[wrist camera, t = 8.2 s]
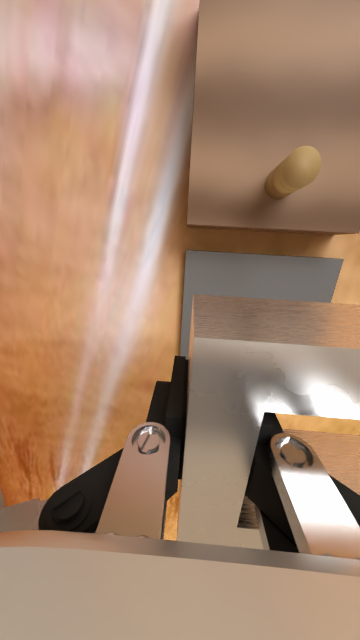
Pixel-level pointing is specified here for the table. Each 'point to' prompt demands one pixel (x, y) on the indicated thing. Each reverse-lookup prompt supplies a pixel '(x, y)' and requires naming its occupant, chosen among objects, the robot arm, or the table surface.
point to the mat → (255, 280)
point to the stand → (276, 117)
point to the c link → (261, 402)
